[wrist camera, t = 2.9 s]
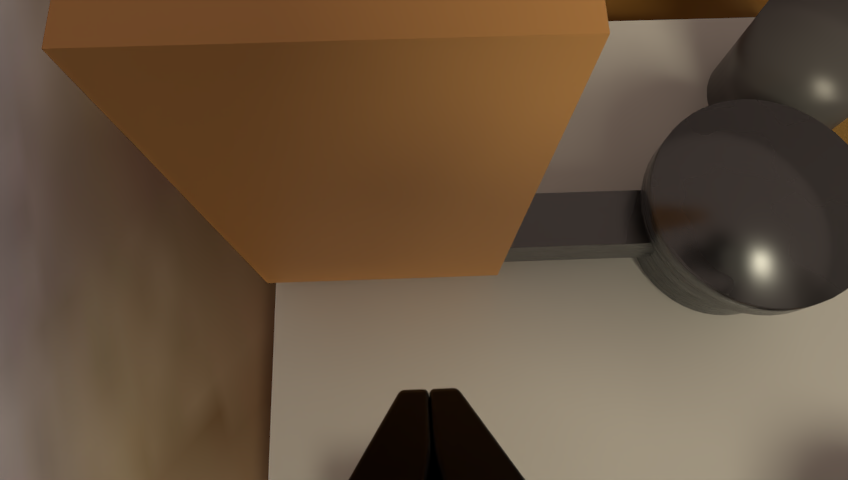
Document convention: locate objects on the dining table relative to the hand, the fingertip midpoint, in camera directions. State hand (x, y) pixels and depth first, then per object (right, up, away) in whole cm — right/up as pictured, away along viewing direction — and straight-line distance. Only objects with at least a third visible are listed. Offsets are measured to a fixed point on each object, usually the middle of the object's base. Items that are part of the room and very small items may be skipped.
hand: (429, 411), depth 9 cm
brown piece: (+3, +2, +8) cm, 9 cm away
